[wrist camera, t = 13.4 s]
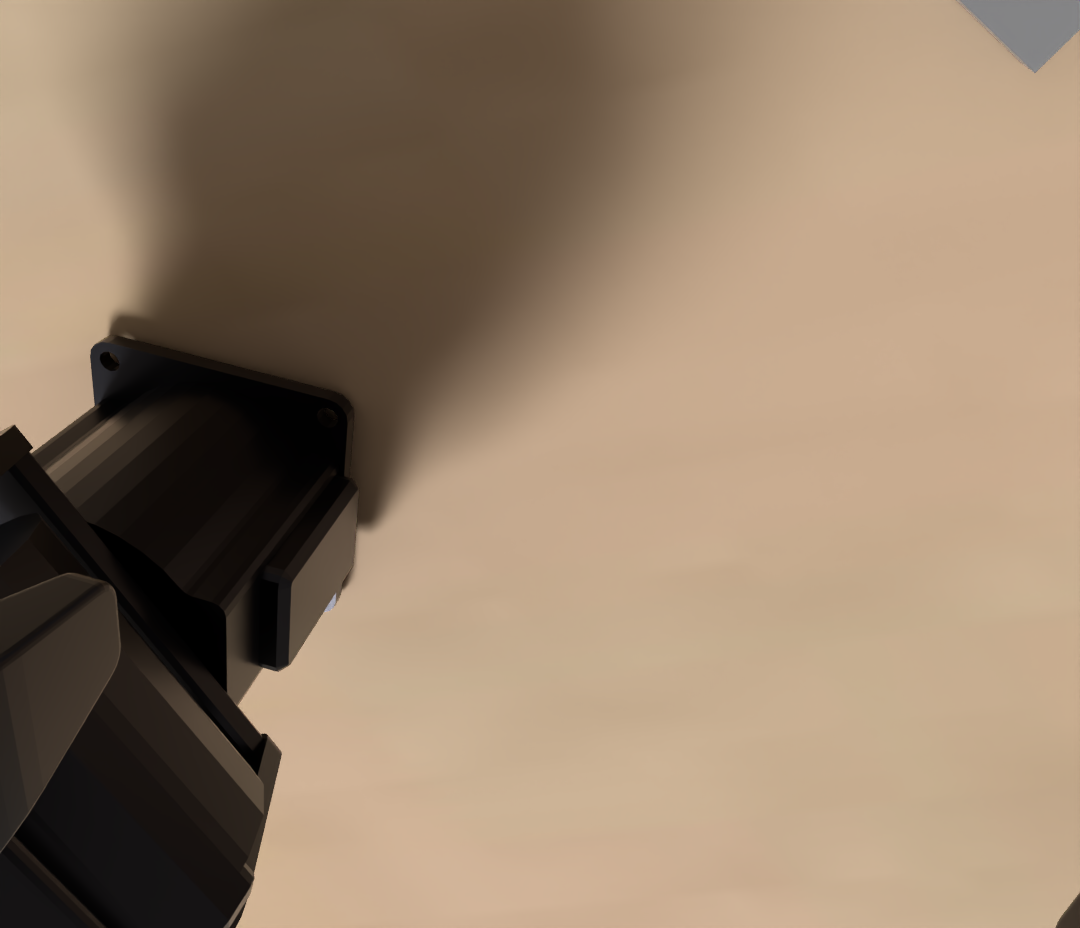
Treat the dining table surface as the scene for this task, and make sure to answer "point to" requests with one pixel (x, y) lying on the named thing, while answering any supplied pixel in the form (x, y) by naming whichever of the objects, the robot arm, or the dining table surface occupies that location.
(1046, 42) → the carrier plate
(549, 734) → the dining table surface
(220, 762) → the robot arm
